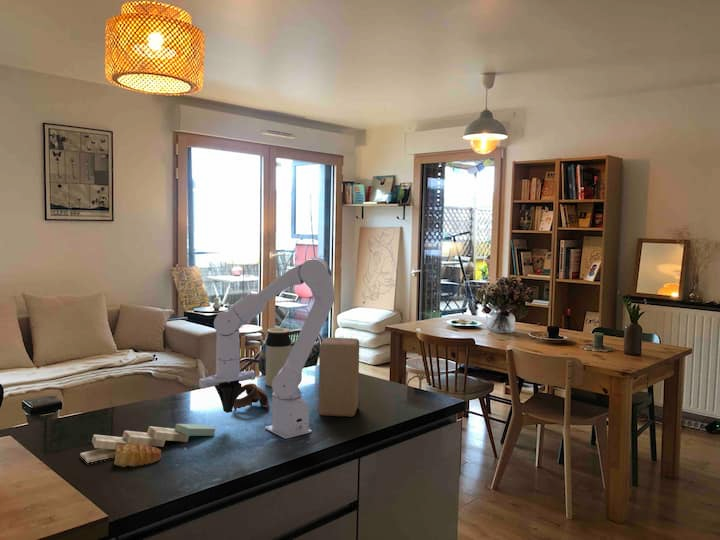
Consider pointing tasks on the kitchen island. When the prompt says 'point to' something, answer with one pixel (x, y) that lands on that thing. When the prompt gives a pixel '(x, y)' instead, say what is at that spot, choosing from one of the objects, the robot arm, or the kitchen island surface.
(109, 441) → the domino
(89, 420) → the kitchen island surface
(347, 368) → the wooden block
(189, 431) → the domino
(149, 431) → the domino
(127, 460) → the pastry
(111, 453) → the domino
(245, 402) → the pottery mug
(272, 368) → the travel mug
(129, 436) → the domino
